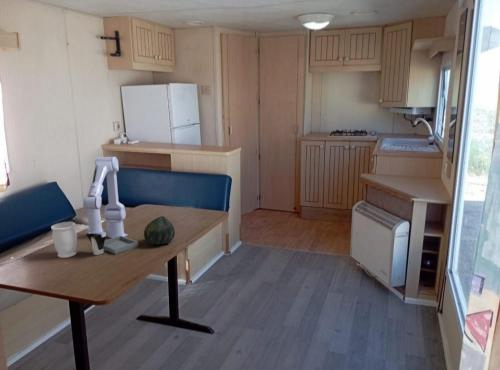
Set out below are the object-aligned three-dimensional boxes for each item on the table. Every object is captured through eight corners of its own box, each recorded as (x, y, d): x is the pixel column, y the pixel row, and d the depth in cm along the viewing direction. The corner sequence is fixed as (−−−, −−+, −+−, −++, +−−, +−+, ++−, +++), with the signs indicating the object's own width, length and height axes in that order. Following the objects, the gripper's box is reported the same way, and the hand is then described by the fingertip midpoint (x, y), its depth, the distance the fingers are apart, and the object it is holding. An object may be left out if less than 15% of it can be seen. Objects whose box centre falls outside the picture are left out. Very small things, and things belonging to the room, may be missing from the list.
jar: (83, 251, 194) (80, 222, 191) (68, 260, 185) (63, 229, 181) (66, 249, 198) (62, 220, 194) (50, 257, 188) (45, 227, 185)
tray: (98, 247, 199) (98, 242, 199) (121, 240, 209) (121, 235, 208) (115, 254, 190) (114, 249, 189) (138, 246, 199) (137, 241, 199)
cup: (90, 253, 191) (88, 237, 190) (100, 249, 195) (98, 234, 193) (96, 255, 188) (94, 239, 186) (106, 252, 192) (104, 236, 190)
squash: (138, 231, 206) (144, 214, 196) (164, 225, 215) (172, 209, 205) (147, 254, 199) (154, 238, 189) (174, 248, 208) (182, 232, 198)
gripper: (78, 220, 190) (82, 247, 193) (94, 226, 180) (98, 254, 184) (92, 216, 195) (95, 242, 198) (108, 222, 186) (111, 249, 189)
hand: (97, 248), depth 191 cm, fingers closed on cup, 5 cm apart
